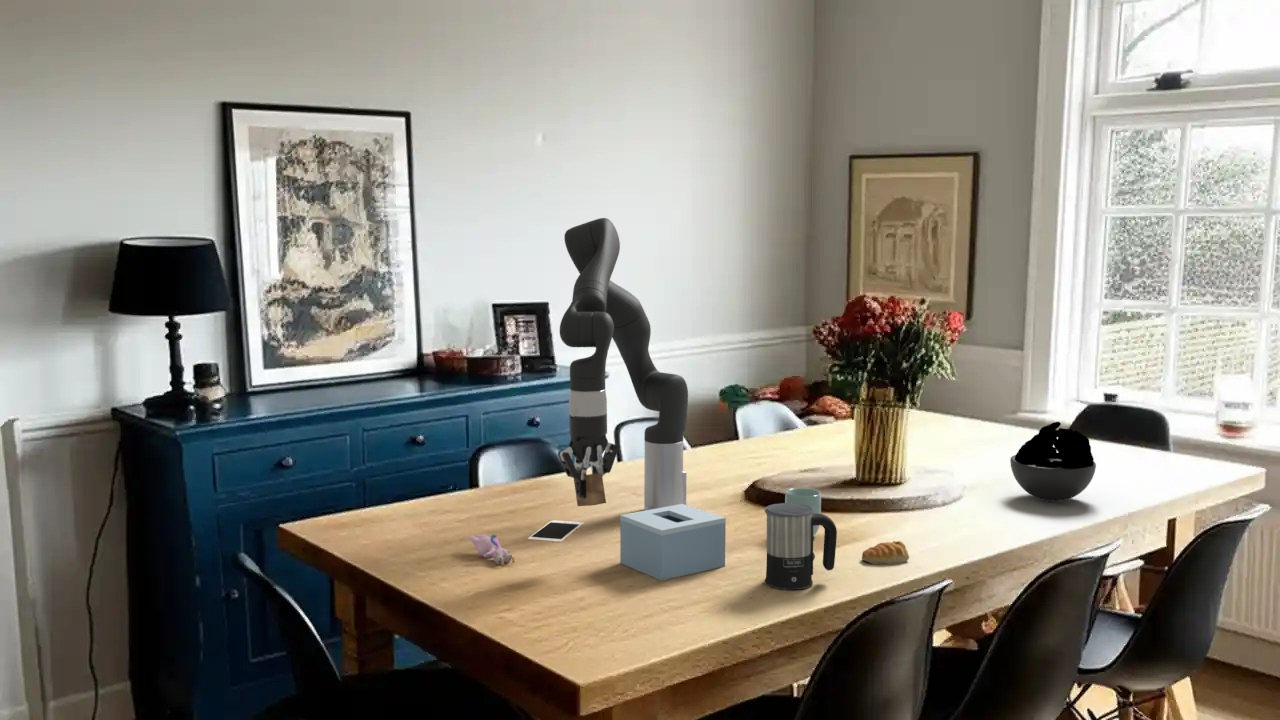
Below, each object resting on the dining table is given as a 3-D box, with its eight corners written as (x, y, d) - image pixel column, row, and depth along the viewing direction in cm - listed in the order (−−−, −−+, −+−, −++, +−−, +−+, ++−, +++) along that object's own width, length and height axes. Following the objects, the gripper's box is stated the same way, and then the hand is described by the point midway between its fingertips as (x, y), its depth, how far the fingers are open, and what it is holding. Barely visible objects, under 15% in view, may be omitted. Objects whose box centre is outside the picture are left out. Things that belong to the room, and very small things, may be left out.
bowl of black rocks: (1067, 515, 277) (1071, 436, 275) (992, 499, 292) (996, 425, 289) (1109, 501, 290) (1113, 426, 288) (1035, 487, 305) (1038, 415, 303)
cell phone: (584, 525, 269) (584, 522, 269) (560, 544, 253) (560, 541, 253) (552, 522, 271) (552, 519, 271) (526, 541, 255) (526, 538, 255)
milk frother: (778, 593, 220) (780, 516, 218) (739, 570, 234) (740, 497, 232) (843, 584, 225) (845, 509, 223) (801, 561, 240) (802, 490, 238)
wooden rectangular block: (589, 504, 238) (585, 474, 239) (606, 502, 233) (601, 473, 234) (577, 506, 237) (573, 476, 237) (593, 505, 232) (589, 475, 232)
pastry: (873, 568, 236) (873, 549, 236) (854, 559, 242) (854, 541, 242) (911, 562, 240) (912, 544, 239) (892, 554, 246) (892, 536, 245)
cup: (823, 533, 261) (824, 489, 259) (816, 542, 253) (817, 497, 252) (788, 530, 263) (789, 486, 262) (781, 539, 256) (782, 494, 255)
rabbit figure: (521, 569, 238) (484, 541, 250) (523, 542, 237) (486, 515, 248) (494, 575, 235) (458, 546, 246) (496, 548, 233) (460, 520, 245)
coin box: (682, 549, 248) (682, 503, 246) (725, 566, 236) (725, 517, 235) (620, 562, 238) (620, 515, 237) (661, 580, 227) (661, 530, 226)
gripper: (606, 405, 240) (607, 487, 243) (548, 412, 232) (549, 497, 234) (627, 410, 234) (628, 494, 237) (568, 418, 226) (570, 505, 228)
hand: (589, 495), depth 235 cm, fingers closed on wooden rectangular block, 2 cm apart
